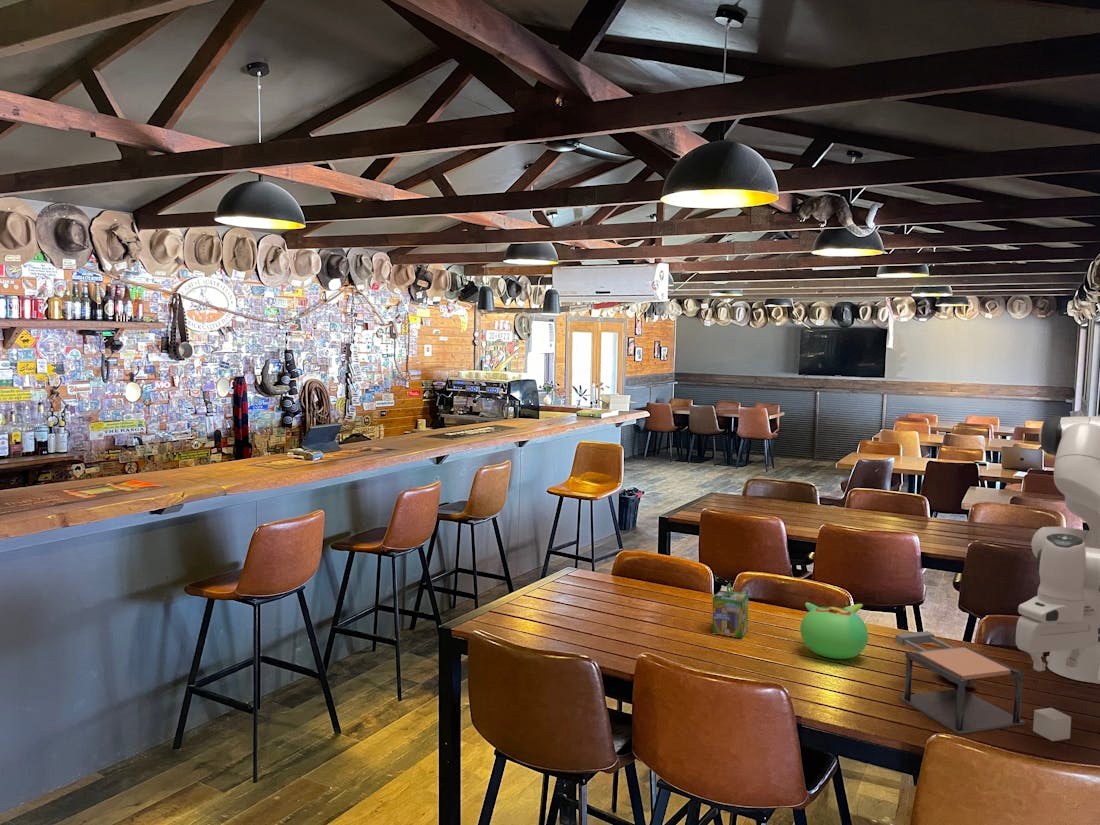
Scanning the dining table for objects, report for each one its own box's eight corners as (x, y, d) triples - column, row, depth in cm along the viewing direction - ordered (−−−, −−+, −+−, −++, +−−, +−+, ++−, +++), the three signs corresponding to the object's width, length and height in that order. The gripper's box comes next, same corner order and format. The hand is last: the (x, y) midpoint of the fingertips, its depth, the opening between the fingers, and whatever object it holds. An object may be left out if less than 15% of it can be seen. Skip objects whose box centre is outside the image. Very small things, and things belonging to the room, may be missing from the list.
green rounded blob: (797, 661, 220) (800, 609, 219) (800, 641, 236) (802, 592, 235) (867, 671, 214) (870, 618, 213) (866, 649, 230) (868, 600, 229)
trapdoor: (887, 642, 205) (888, 635, 204) (933, 637, 209) (934, 630, 209) (961, 682, 182) (961, 673, 181) (1011, 676, 186) (1011, 667, 186)
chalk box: (741, 639, 236) (743, 590, 235) (711, 634, 241) (712, 586, 239) (748, 630, 245) (750, 583, 244) (719, 625, 249) (720, 578, 248)
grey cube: (1050, 728, 183) (1051, 707, 183) (1069, 738, 178) (1071, 717, 178) (1033, 731, 182) (1034, 710, 181) (1052, 741, 177) (1053, 719, 176)
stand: (899, 698, 197) (901, 651, 197) (961, 690, 203) (964, 644, 202) (958, 734, 179) (961, 682, 178) (1025, 724, 185) (1028, 674, 184)
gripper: (1082, 600, 184) (1078, 659, 185) (1012, 606, 178) (1008, 666, 179) (1108, 609, 178) (1104, 669, 179) (1036, 615, 172) (1032, 677, 173)
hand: (1055, 668), depth 179 cm, fingers open, 8 cm apart
